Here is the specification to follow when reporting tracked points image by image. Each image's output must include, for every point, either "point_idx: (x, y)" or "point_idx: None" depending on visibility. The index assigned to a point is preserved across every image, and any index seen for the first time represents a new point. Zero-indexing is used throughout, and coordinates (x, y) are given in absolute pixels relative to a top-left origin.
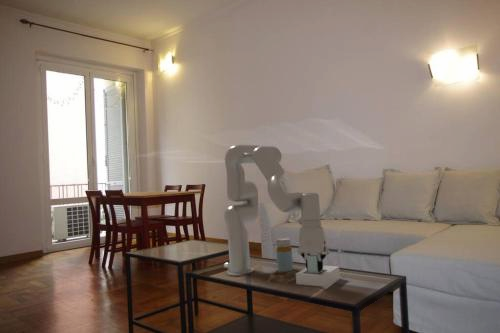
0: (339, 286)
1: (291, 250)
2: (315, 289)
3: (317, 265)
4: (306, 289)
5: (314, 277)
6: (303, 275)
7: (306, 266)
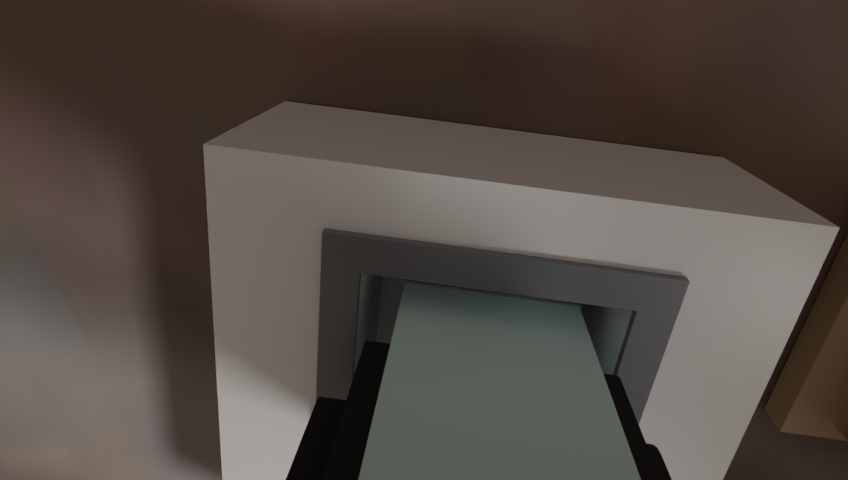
0: (176, 253)
1: None
2: (419, 67)
3: (376, 418)
4: (548, 40)
5: (424, 158)
6: (653, 194)
7: (652, 458)
